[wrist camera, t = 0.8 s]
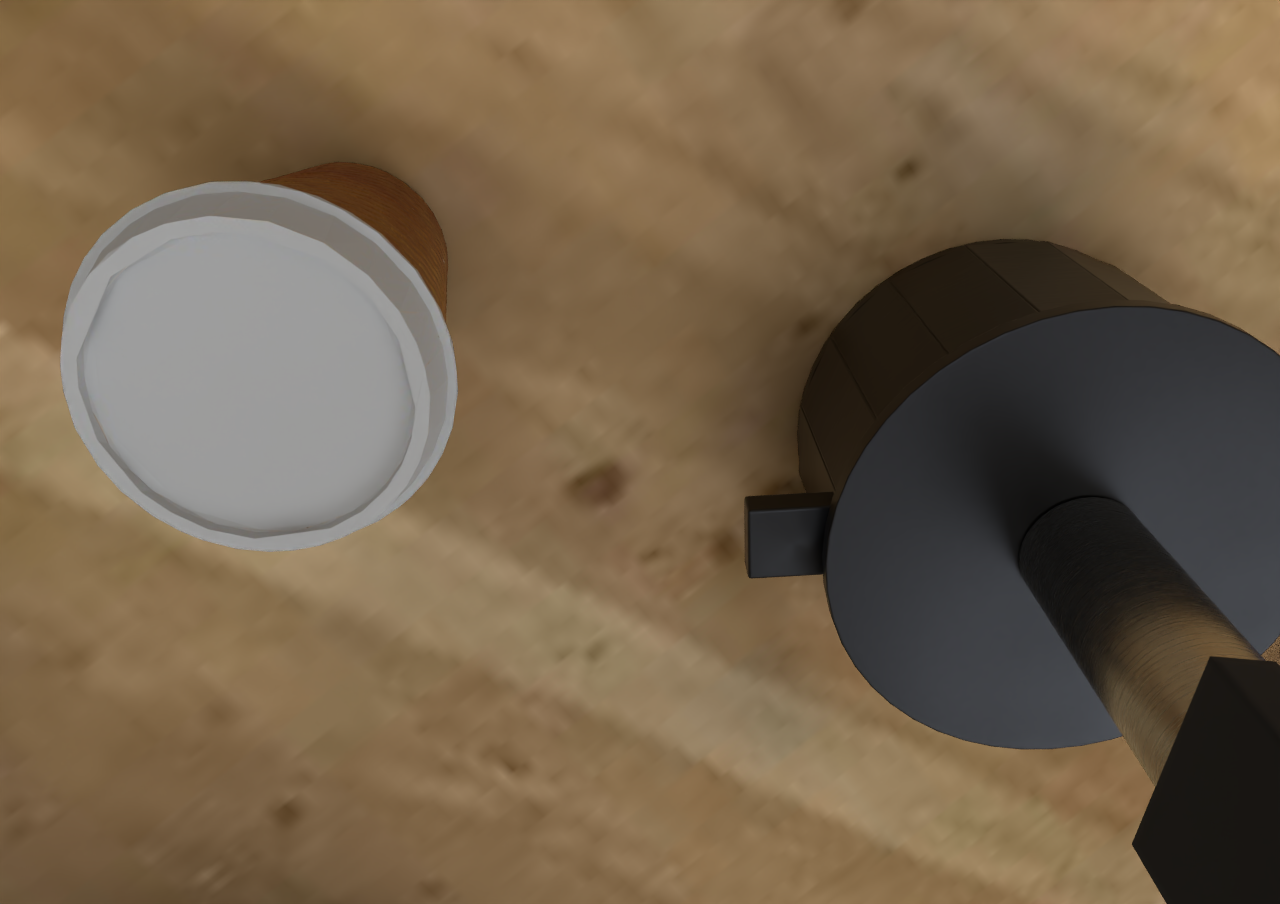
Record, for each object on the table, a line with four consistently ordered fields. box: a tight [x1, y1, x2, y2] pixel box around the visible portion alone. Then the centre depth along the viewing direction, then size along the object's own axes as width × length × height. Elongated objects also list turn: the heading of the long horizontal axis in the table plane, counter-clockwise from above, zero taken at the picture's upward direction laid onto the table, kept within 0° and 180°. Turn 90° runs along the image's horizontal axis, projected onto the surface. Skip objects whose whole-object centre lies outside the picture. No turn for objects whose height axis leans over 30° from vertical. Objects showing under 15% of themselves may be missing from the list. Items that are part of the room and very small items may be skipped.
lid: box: [822, 300, 1280, 787], centre depth 28 cm, size 15×15×11 cm
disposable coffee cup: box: [60, 162, 458, 552], centre depth 31 cm, size 10×10×12 cm
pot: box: [744, 239, 1170, 578], centre depth 36 cm, size 14×19×8 cm
